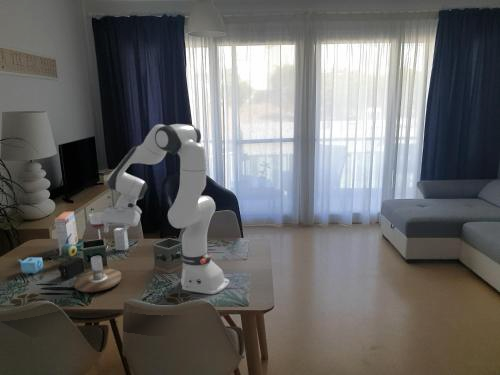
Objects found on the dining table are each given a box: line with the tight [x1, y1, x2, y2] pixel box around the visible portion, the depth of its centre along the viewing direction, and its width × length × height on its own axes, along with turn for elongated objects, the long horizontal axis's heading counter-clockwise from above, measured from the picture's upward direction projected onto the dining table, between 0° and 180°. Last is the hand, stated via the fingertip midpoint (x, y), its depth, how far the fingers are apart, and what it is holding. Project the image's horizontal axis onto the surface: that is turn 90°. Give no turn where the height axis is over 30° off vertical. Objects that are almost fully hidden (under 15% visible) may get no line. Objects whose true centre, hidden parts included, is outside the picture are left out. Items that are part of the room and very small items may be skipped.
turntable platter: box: [73, 268, 123, 293], centre depth 169 cm, size 20×20×2 cm
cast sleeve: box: [90, 255, 104, 280], centre depth 167 cm, size 4×4×10 cm
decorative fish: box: [58, 234, 84, 261], centre depth 193 cm, size 13×12×6 cm
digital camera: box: [58, 256, 85, 281], centre depth 179 cm, size 10×5×7 cm, turn 159°
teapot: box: [17, 256, 44, 275], centre depth 182 cm, size 12×6×8 cm, turn 89°
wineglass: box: [88, 211, 109, 248], centre depth 211 cm, size 8×9×20 cm
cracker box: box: [54, 211, 79, 254], centre depth 208 cm, size 14×6×21 cm, turn 6°
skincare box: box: [113, 227, 130, 251], centre depth 209 cm, size 6×4×12 cm
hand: (113, 232), depth 176 cm, fingers open, 8 cm apart
